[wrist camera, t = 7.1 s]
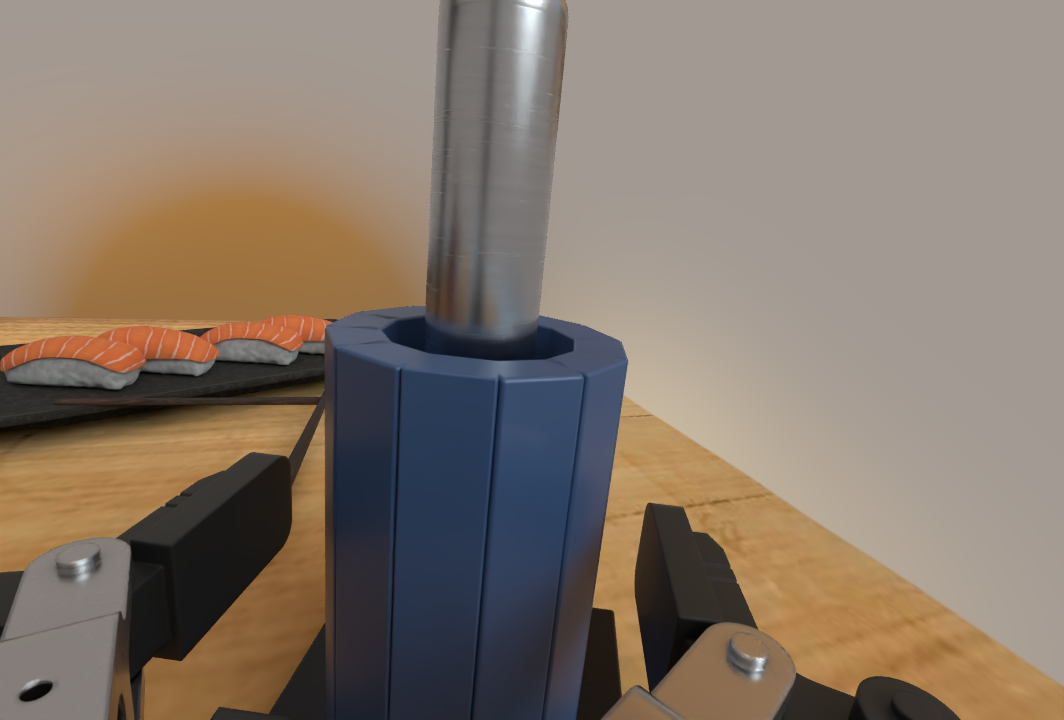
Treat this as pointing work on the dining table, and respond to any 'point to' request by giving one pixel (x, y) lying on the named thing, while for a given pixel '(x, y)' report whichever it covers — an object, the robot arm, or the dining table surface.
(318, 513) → the dining table surface
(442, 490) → the blue fluted sleeve
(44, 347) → the sushi plate
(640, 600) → the robot arm
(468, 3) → the peg on square base
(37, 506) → the dining table surface
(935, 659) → the dining table surface
